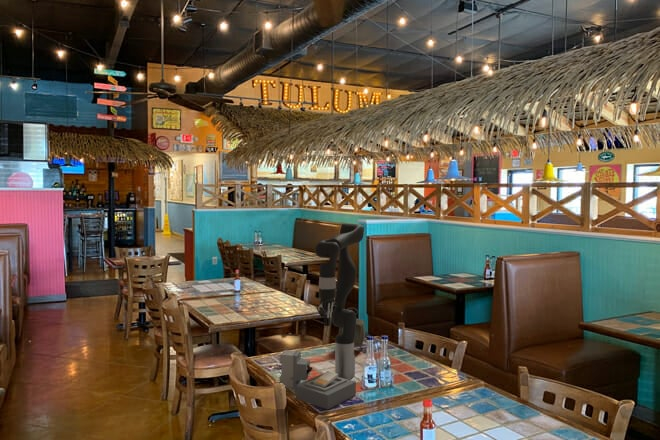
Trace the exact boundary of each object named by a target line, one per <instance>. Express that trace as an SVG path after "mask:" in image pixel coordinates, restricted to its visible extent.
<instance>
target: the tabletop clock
mask: <svg viewBox="0 0 660 440" xmlns="http://www.w3.org/2000/svg"><path fill="white" fill-rule="evenodd" d="M347 309H348V310H355V311H356V313H355V314H356V315H357V314H358V313H359V310H358V309H357V308H355V307H347ZM342 333H343V328H340V327H338V334H342ZM365 337H366V324H365V322H364V320H363V319H360V318H356V333H355V338H354V347H359V349H360V351H363V350H364V348H363V347H362V345H363V343H364V341H365Z"/></svg>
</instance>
